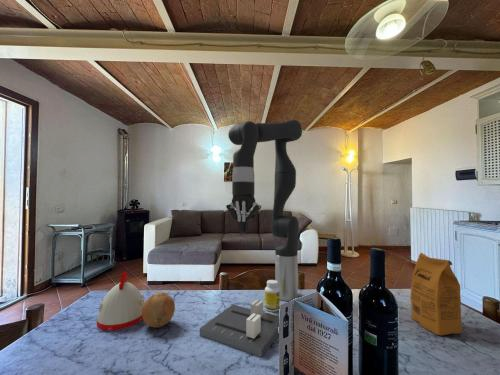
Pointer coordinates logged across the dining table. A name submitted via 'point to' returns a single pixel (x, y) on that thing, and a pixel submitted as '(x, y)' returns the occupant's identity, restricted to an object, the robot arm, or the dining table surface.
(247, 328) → the fader
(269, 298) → the supplement bottle
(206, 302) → the dining table surface
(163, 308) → the onion
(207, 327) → the console
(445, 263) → the coffee package
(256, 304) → the fader
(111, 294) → the kitchen timer
